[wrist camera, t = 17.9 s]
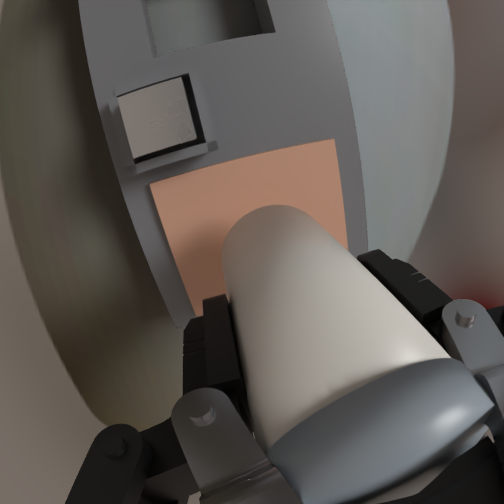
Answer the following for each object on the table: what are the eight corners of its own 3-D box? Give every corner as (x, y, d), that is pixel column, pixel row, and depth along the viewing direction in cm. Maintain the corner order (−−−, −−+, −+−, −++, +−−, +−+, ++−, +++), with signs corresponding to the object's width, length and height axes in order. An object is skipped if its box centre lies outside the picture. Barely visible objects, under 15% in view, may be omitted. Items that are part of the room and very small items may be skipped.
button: (134, 102, 12) (117, 97, 9) (184, 87, 12) (180, 76, 9) (147, 151, 13) (133, 158, 10) (197, 136, 13) (196, 139, 10)
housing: (85, -50, 9) (63, -81, 5) (273, -88, 9) (291, -123, 5) (177, 304, 19) (174, 350, 15) (351, 255, 20) (385, 288, 16)
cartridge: (200, 227, 12) (225, 511, 3) (312, 185, 12) (532, 354, 3) (241, 317, 14) (298, 541, 5) (335, 280, 14) (467, 462, 5)
